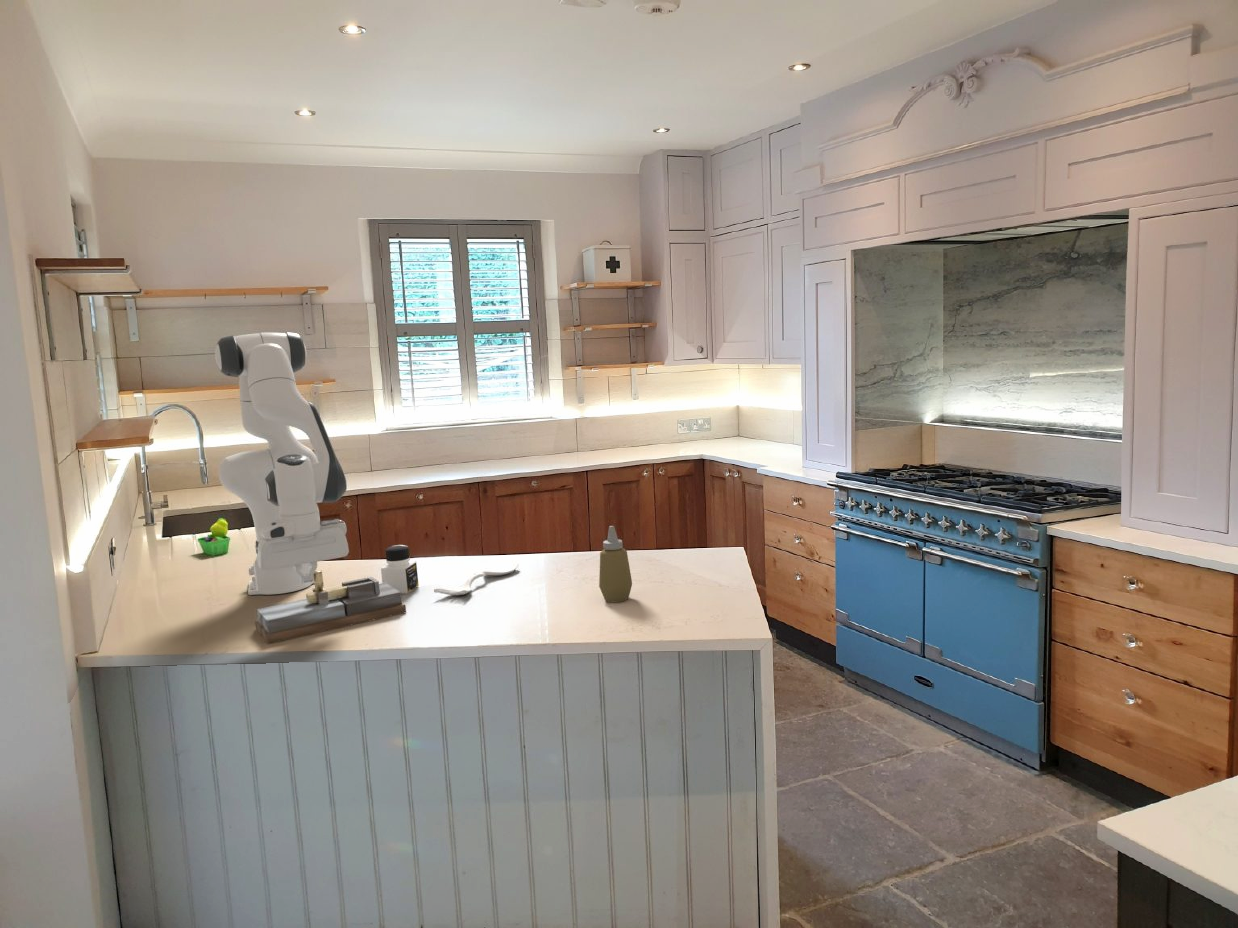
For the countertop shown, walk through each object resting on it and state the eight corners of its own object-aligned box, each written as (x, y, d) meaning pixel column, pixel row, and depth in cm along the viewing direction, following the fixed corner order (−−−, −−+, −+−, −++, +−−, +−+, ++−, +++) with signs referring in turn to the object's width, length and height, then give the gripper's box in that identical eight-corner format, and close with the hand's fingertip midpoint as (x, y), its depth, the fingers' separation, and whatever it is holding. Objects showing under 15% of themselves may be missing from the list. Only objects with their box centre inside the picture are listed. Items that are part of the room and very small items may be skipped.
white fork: (433, 601, 227) (432, 588, 226) (497, 568, 256) (496, 556, 255) (463, 603, 223) (462, 589, 223) (524, 569, 252) (523, 557, 252)
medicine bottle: (408, 594, 234) (403, 549, 233) (383, 594, 235) (378, 550, 234) (419, 586, 241) (414, 542, 239) (394, 586, 242) (389, 543, 241)
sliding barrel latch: (256, 628, 212) (252, 596, 211) (387, 600, 229) (384, 570, 228) (268, 643, 201) (264, 609, 200) (406, 612, 218) (402, 580, 216)
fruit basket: (198, 553, 305) (193, 520, 303) (224, 547, 311) (220, 515, 309) (209, 557, 296) (205, 524, 295) (236, 551, 302) (232, 519, 301)
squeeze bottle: (611, 606, 211) (606, 531, 209) (593, 599, 218) (588, 526, 215) (639, 599, 215) (634, 525, 213) (621, 592, 222) (617, 521, 220)
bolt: (306, 602, 212) (303, 573, 211) (349, 593, 218) (345, 565, 217) (309, 603, 211) (305, 574, 210) (351, 594, 216) (348, 566, 215)
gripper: (341, 515, 217) (347, 570, 219) (252, 529, 207) (259, 587, 209) (348, 519, 212) (355, 575, 214) (257, 533, 201) (265, 593, 203)
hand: (307, 581), depth 211 cm, fingers closed
